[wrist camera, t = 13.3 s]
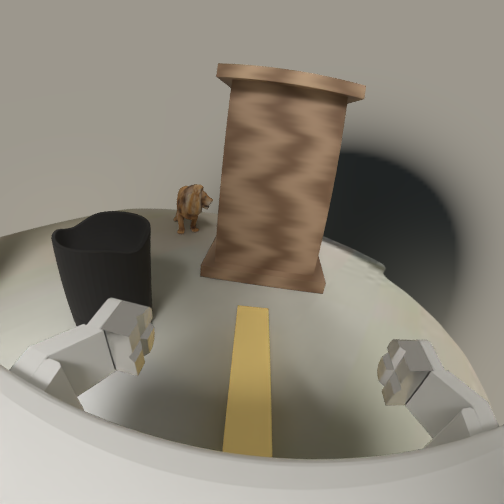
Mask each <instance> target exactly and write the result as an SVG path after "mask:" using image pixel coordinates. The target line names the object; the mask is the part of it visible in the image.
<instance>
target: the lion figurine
mask: <svg viewBox="0 0 504 504" xmlns="http://www.w3.org/2000/svg"><path fill="white" fill-rule="evenodd" d="M212 201H213V199H212V198H210V197H209V196H208V195H207V194H206V193H205V192H204V191H203V186H202V185H197V184H194V185H191V186H184V187H182V188H180V190H179V192H178V198H177V213H176V217H175V218H174V221H178V224H179V230H178V231H177V233H178V234H184V231H185V229H184V218H186V219H192V222H191V226H190V229H191V230H192V232H197V231H199V229H198V228H196V221H197V218H198V215H199V214H200V213H201V212H202V208H205V209H208V208H209V205H210V204H211V202H212Z"/></svg>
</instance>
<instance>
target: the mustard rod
mask: <svg viewBox="0 0 504 504" xmlns="http://www.w3.org/2000/svg"><path fill="white" fill-rule="evenodd" d="M222 452H229V453H235V454H243V455H251V456H261V457H272V418H271V377H270V343H269V314H268V308H258V307H248V306H239V305H238V309H237V318H236V327H235V336H234V345H233V354H232V363H231V373H230V382H229V391H228V401H227V411H226V420H225V430H224V440H223V450H222Z"/></svg>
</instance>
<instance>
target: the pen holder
mask: <svg viewBox="0 0 504 504" xmlns="http://www.w3.org/2000/svg"><path fill="white" fill-rule="evenodd" d="M150 235H151V227H150V223H149V221H148V220H147V219H146V218H144V217H142V216H140V215H137V214H134V213H129V212H121V211H108V212H100V213H97V214H94V215H92V216H90V217H88V218H87V219H85V220H84V221H82V222H81V223H79V224H78V225H76V226H74V227H72V228H68V229H58V230H56V231H54V232H53V234H52V238H51V239H52V244H53V248H54V253H55V257H56V261H57V265H58V269H59V273H60V277H61V281H62V284H63V288H64V291H65V294H66V298H67V301H68V304H69V307H70V310H71V313H72V315H73V318H74V321H75V323H76V326H79V325H82V324H85V325H87V324H88V323H89V321H90V320H91V319H92V318H93V316H94V315H95V314H96V313H97V312H98V310H99V309H100V308H101V307H102V305H103V304H104V303H105V302H106V301H107V299H109V298H115V299H119V300H123V301H128V302H131V303H135V304H139V305H143V306H147V307H150V308H151V309H152V298H151V256H150Z"/></svg>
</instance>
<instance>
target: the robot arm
mask: <svg viewBox="0 0 504 504" xmlns="http://www.w3.org/2000/svg"><path fill="white" fill-rule="evenodd" d="M152 318H153V315H152V309H151V308H150V307H147V306H143V305H139V304H135V303H131V302H128V301H123V300H119V299H115V298H109V299H107V301H106V302H105V303H104V304H103V305H102V307H101V308H100V309H99V310H98V312H97V313H96V314H95V315H94V316H93V318H92V319H91V320H90V321H89V323H88V324H87V325H85V324H82V325H79V326H77V327H75V328H72V329H70V330H67V331H65V332H62V333H60V334H58V335H55V336H53V337H50V338H48V339H45V340H43V341H41V342H38V343H36V344H33V345H31V346H28V348H27V349H26V350H25V351H24V352H23V354H22V355H21V356H20V357H19V358H18V360H17V361H16V362H15V363H14V365H13V366H12V367H11V369H10V370H8V369H6V368H5V367H3V366H2V365H0V504H504V425H502V426H499V425H498V423H497V420H496V418H495V416H494V413H493V411H492V409H491V407H490V405H489V403H488V401H486V400H485V399H484V398H483V397H481V396H480V395H479V394H478V393H476V392H475V391H474V390H473V389H471V388H470V387H469V386H468V385H466V384H465V383H464V382H463V381H461V380H460V379H459V378H457V377H456V376H455V375H454V374H452V373H451V372H450V371H448V370H445V369H444V367H443V365H442V363H441V361H440V359H439V357H438V355H437V353H436V352H435V350H434V348H433V346H432V344H431V342H430V341H429V340H399V339H393V340H392V341H391V342H390V343H389V345H388V347H387V350H388V353H386V354H385V355H384V356H382V358H381V360H380V362H379V364H378V369H377V376H378V380H379V382H380V383H381V384H382V385H383V386H384V387H383V389H382V394H383V398H384V402H385V405H386V406H390V405H405V406H406V408H407V409H408V410H409V411H410V412H411V413H412V415H413V416H414V417H415V418H416V419H417V420H418V422H419V423H420V424H421V425H422V426H423V428H424V429H425V430H426V431H427V432H428V433H429V435H430V436H431V437H432V438H433V439H432V440H431V441H430V442H429V443H428V444H426V445H425V447H424V448H423V449H418V450H413V451H408V452H402V453H395V454H388V455H380V456H370V457H359V458H343V459H289V458H273V457H261V456H251V455H243V454H235V453H229V452H222V451H216V450H211V449H205V448H200V447H195V446H191V445H186V444H182V443H178V442H174V441H170V440H166V439H162V438H159V437H155V436H152V435H148V434H145V433H142V432H139V431H136V430H133V429H130V428H127V427H124V426H121V425H118V424H115V423H113V422H110V421H107V420H105V419H102V418H100V417H97V416H95V415H92V414H90V413H88V412H85V411H84V409H83V406H82V405H81V403H80V401H79V400H78V398H77V397H78V396H79V395H81V394H82V393H84V392H85V391H87V390H88V389H90V388H91V387H93V386H94V385H96V384H97V383H99V382H100V381H102V380H103V379H105V378H106V377H108V376H109V375H111V374H112V373H114V372H115V370H117V371H120V372H124V373H128V374H131V375H135V376H138V375H139V373H140V371H141V369H142V367H143V365H144V363H145V360H144V356H145V355H147V354H149V353H150V351H151V349H152V347H153V342H154V335H155V332H154V327H153V325H152V324H151V323H150V321H151V319H152Z"/></svg>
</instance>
